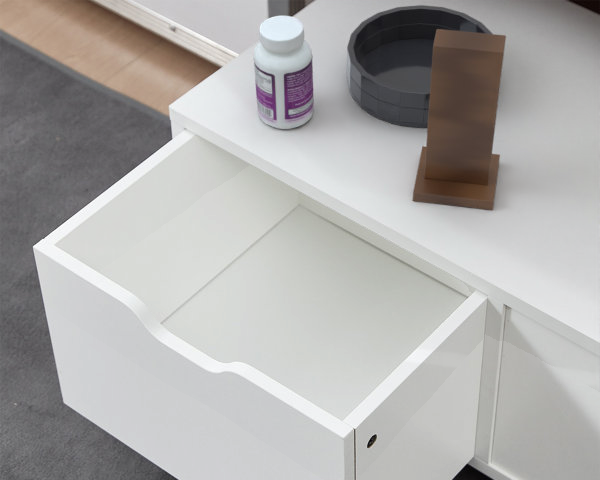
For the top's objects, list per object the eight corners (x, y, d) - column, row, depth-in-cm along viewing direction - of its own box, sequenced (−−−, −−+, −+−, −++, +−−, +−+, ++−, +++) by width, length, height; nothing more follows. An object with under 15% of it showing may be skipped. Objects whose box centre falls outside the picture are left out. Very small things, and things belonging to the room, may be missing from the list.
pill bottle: (314, 95, 118) (312, 10, 111) (313, 130, 114) (311, 44, 107) (258, 96, 118) (253, 10, 111) (255, 131, 114) (250, 44, 107)
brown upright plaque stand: (499, 162, 111) (516, 21, 100) (492, 210, 106) (510, 68, 95) (421, 154, 112) (431, 13, 101) (412, 201, 107) (421, 59, 96)
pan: (500, 46, 123) (504, 12, 120) (487, 135, 113) (491, 100, 110) (360, 33, 125) (360, -1, 122) (336, 119, 115) (336, 84, 112)
